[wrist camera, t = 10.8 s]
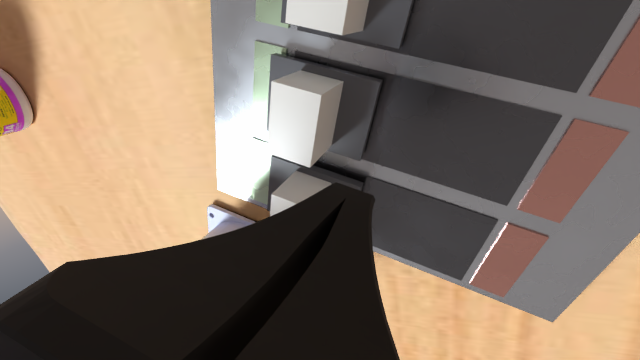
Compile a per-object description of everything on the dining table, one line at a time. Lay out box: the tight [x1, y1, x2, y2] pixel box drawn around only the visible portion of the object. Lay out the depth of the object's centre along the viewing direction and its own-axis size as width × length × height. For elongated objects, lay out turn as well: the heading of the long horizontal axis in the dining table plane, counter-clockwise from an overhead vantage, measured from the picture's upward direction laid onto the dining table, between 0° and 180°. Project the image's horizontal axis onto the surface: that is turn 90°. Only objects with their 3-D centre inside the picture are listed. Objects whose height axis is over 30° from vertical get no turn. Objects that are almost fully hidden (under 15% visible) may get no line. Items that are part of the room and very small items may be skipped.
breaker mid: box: [266, 53, 383, 168], centre depth 15 cm, size 4×6×4 cm
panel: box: [211, 0, 640, 322], centre depth 17 cm, size 18×24×2 cm
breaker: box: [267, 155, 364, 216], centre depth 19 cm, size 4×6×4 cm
